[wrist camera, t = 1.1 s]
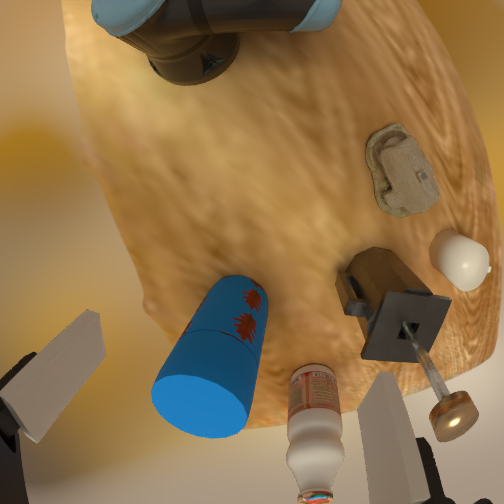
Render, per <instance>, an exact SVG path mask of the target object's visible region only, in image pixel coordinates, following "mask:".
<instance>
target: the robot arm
mask: <svg viewBox="0 0 504 504" xmlns="http://www.w3.org/2000/svg"><path fill="white" fill-rule="evenodd" d="M341 2H342V0H92V5H91V12H92V16H93V19H94V21H95V22H96V23H97V24H98V25H99V26H101V27H102V28H104V29H105V30H106V31H107V32H108V33H109V34H110V35H112V36H115V37H117V38H119V39H120V40H122V41H124V42H126V43H128V44H129V45H131V46H133V47H135V48H136V49H138V50H140V51H141V52H143V53H145V54H146V55H147V58H148V60H149V63H150V65H151V67H152V68H153V70H154V71H155V72H156V73H157V74H158V75H159V76H160V77H162V78H164V79H165V80H167V81H169V82H171V83H174V84H177V85H197V84H201V83H204V82H207V81H209V80H211V79H213V78H215V77H217V76H218V75H220V74H221V73H222V72H223V71H225V70H226V69H227V68H228V67H229V66H230V64H231V63H232V62H233V60H234V59H235V57H236V55H237V53H238V50H239V45H240V35H239V32H252V31H286V32H288V33H292V32H296V31H321V30H323V29H326V28H328V27H329V26H330V25H331V24H332V23H333V21H334V20H335V18H336V16H337V14H338V12H339V9H340V6H341ZM105 357H106V352H105V347H104V341H103V335H102V329H101V324H100V317H99V313H97V312H93V311H90V310H88V309H87V310H85V311H84V312H83V313H82V314H81V315H80V316H79V317H77V318H76V319H75V320H74V321H73V322H72V323H71V324H70V325H69V326H67V327H66V328H65V329H64V330H63V331H62V332H61V333H60V334H58V335H57V336H56V337H55V338H54V339H53V340H52V341H51V342H50V343H49V344H48V345H47V346H45V347H44V348H43V349H42V350H41V351H40V352H39V353H38V354H37V353H35V352H32V353H30V354H28V355H26V356H24V357H23V358H22V359H21V360H20V361H19V362H18V364H16V365H15V366H14V367H13V368H12V370H10V371H9V372H8V373H6V374H5V375H4V377H2V378H1V380H0V504H29V502H28V497H27V492H26V487H25V481H24V475H23V468H22V461H21V452H20V440H19V433H18V429H19V428H21V429H22V431H23V432H24V433H25V435H26V436H28V437H29V438H30V439H32V440H33V441H34V442H36V443H37V444H38V443H39V441H40V440H41V439H42V437H43V436H44V435H45V433H46V432H47V431H48V429H49V428H50V427H51V425H52V424H53V423H54V421H55V420H56V419H57V417H58V416H59V415H60V414H61V412H62V411H63V410H64V408H65V407H66V406H67V404H68V403H69V402H70V400H71V399H72V398H73V397H74V395H75V394H76V393H77V392H78V390H79V389H80V388H81V387H82V385H83V384H84V383H85V382H86V380H87V379H88V378H89V377H90V375H91V374H92V373H93V372H94V371H95V369H96V368H97V367H98V366H99V364H100V363H101V362H102V361H103V360H104V358H105ZM357 412H358V418H359V424H360V430H361V436H362V442H363V449H364V457H365V464H366V472H367V480H368V490H369V499H370V504H455V502H454V501H453V500H452V499H450V498H447V497H445V495H444V492H443V488H442V484H441V480H440V476H439V473H438V469H437V466H436V462H435V459H434V458H433V452H432V449H431V446H430V445H429V443H428V442H427V441H426V439H425V438H424V437H422V438H415V435H414V432H413V429H412V426H411V422H410V419H409V416H408V413H407V410H406V407H405V404H404V401H403V398H402V395H401V392H400V389H399V386H398V384H397V381H396V378H395V375H394V373H393V372H380V371H379V373H378V374H377V376H376V378H375V380H374V382H373V384H372V385H371V387H370V389H369V391H368V393H367V394H366V396H365V398H364V399H363V401H362V403H361V404H360V406H359V408H358V409H357ZM474 504H493V503H492V502H491V501H490V500H489V499H486V498H484V499H480V500H478V501H477V502H475V503H474Z"/></svg>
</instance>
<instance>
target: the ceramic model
mask: <svg viewBox="0 0 504 504" xmlns="http://www.w3.org/2000/svg"><path fill="white" fill-rule="evenodd" d="M365 157H366V162H367V165H368V167H369V169H370V170H371V173H372V178H373V183H374V189H375V197H376V200H377V202H378V205H379V207H380V208H381V209H382V210H383V211H385V212H387V213H389V214H392V215H393V216H395V217H406V216H408V215H410V214H411V213H419V212H424V211H426V210H427V209H429V208H431V207H432V206H433V205H434V204H435V203H436V202H437V201H438V200H439V196H440V195H439V188H438V186H437V183H436V180H435V177H434V171H433V168H432V166H431V164H430V162H429V161H428V159H427V158H426V156H425V155H424V153H423V152H422V151H421V149H420V147H419V145H418V143H417V142H416V140H415V139H414V138H413V137H412V136H411V135H409V134H408V133H407V132H406V131H405V129H404V127H403V126H402V125H401V124H391V125H389V126H388V127H386V128H384V129H382V130H380V131H378V132H377V133H375V134H373V135H372V137H371V138H370V140H369V141H368V143H367V146H366V154H365Z"/></svg>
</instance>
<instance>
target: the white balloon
mask: <svg viewBox="0 0 504 504" xmlns="http://www.w3.org/2000/svg"><path fill="white" fill-rule="evenodd" d="M429 258H430V261H431V264H432V265H433V266H434V267H435V268H436V269H437V270H438V271H439V272H440V273H442V274H443V275H444V276H445V277H446V278H447V279H448V280H450V281H451V282H452V283H453V284H454V285H455V286H456V287H457V288H459V289H460V290H462V291H471V290H473V289H475V288H477V287H478V286H479V285H480V284H481V283H482V281H483V280H484V278H485V276H486V274H487V272H488V273H490V270H491V266H489V255H488V252H487V250H486V249H485V248H484V247H483V246H482V245H480V244H478V243H477V242H475V241H473V240H471V239H469V238H467V237H465V236H463V235H462V234H460V233H458V232H456V231H454V230H450V229H447V230H443V231H441V232H440V233H438V234H437V235H436V236H435V238H434V239H433V241H432V243H431V246H430V250H429Z"/></svg>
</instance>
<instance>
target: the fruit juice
mask: <svg viewBox="0 0 504 504" xmlns="http://www.w3.org/2000/svg"><path fill="white" fill-rule="evenodd" d="M287 436H288V440H289V442H290V445H289V448H288V451H287V454H286V461H287V465H288V467H289V468H290V470H291V471H292V473H293V474H294V477H295V479H296V482H297V484H298V487H299V489H300V493H299V494H298V503H299V504H329V503H331V502H332V500H333V494H332V491H331V486H332V484H333V481H334V478H335V476H336V473H337V470H338V469H339V467H340V465H341V464H342V462H343V459H344V447H343V445H342V443H341V441H340V438H341V436H342V419H341V411H340V403H339V396H338V389H337V382H336V377H335V375H334V373H333V372H332V370H330V369H329V368H328V367H326V366H323V365H318V364H312V365H307V366H304V367H301V368H300V369H298V370H297V371H296V372H295V373H294V374H293V375H292V377H291V380H290V386H289V407H288V424H287Z"/></svg>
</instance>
